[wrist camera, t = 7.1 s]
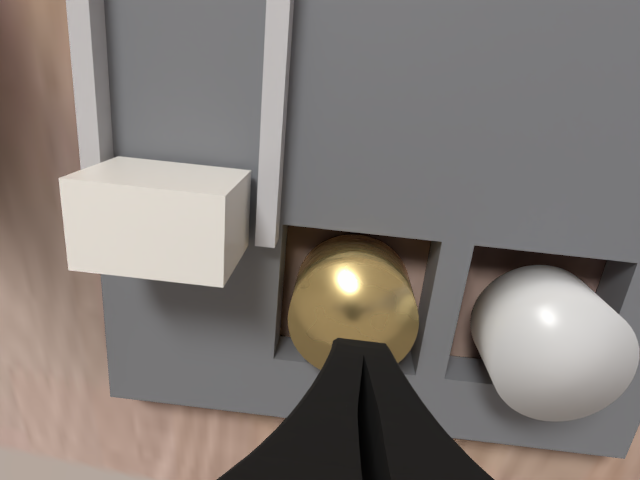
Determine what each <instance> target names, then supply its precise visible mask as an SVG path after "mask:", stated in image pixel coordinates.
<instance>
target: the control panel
mask: <svg viewBox="0 0 640 480" xmlns="http://www.w3.org/2000/svg"><path fill="white" fill-rule="evenodd" d="M66 8H67V19H68V31H69V42H70V53H71V64H72V76H73V87H74V98H75V110H76V121H77V132H78V143H79V155H80V166H81V170H82V169H85V168H87V167H90V166H93V165H96V164H98V163H101V162H104V161H107V160H109V159H112V158H115V157H118V156H122V157H131V158H140V159H150V160H159V161H169V162H178V163H188V164H197V165H206V166H216V167H225V168H235V169H244V170H251V190H250V214H249V238H248V247H247V249H246V250H245V252H244V254H243V255H242V257H241V259H240V260H239V262H238V264H237V265H236V267H235V269H234V271H233V272H232V274H231V276H230V277H229V279H228V281H227V282H226V284H225V286H224V287H223V288H221V287H212V286H203V285H194V284H186V283H177V282H168V281H159V280H150V279H142V278H133V277H124V276H115V275H106V274H101V284H102V296H103V309H104V321H105V334H106V347H107V359H108V372H109V384H110V397H118V398H126V399H134V400H143V401H151V402H159V403H167V404H176V405H184V406H192V407H201V408H209V409H217V410H225V411H234V412H242V413H250V414H259V415H267V416H275V417H283V418H287V417H288V415H289V414H290V413H291V412H292V411H293V409H294V408H295V407H296V406H297V405H298V403H299V402H300V400H301V399H302V398H303V396H304V395H305V394H306V392H307V391H308V389H309V388H310V387H311V385H312V384H313V382H314V381H315V379H316V377H317V376H318V374H319V372H320V371H321V370H320V369H318V368H316V367H314V366H313V365H312V364H310V363H309V362H308V361H307V360H306V359H305V358H303V356H302V355H301V354H300V353H299V352H298V350H297V349H296V347H295V346H294V344H293V341H292V339H291V337H285V336H280V324H281V310H282V296H283V283H284V269H285V255H286V241H287V227H288V225H292V226H301V227H311V228H320V229H329V230H338V231H347V232H356V233H366V234H375V235H384V236H393V237H402V238H411V239H421V240H430V241H431V245H430V251H429V256H428V261H427V266H426V272H425V277H424V282H423V287H422V293H421V298H420V303H419V309H418V314H419V328H418V333H417V337H416V340H415V342H414V344H413V346H412V348H411V351H409V352H408V354H407V355H406V356H405V357H404V358H403V359H402V360H401V361H400V362H399V363H398V365H399V366H400V368H401V370H402V371H403V373H404V375H405V376H406V378H407V379H408V381H409V383H410V384H411V386H412V387H413V388H414V390H415V391H416V393H417V394H418V396H419V397H420V399H421V400H422V402H423V403H424V404H425V406H426V407H427V408H428V410H429V411H430V412H431V414H432V415H433V416H434V418H435V419H436V420H437V421H438V423H439V424H440V425H441V426H442V428H443V429H444V430H445V431H446V432H447V434H448V435H449V436H450V437H451V438H457V439H466V440H474V441H482V442H490V443H499V444H507V445H515V446H524V447H532V448H540V449H548V450H557V451H565V452H573V453H582V454H590V455H598V456H606V457H615V458H623V459H625V457H626V455H627V452H628V450H629V448H630V445H631V443H632V440H633V438H634V436H635V433H636V431H637V428H638V426H639V424H640V0H66ZM474 245H476V246H485V247H494V248H503V249H512V250H521V251H530V252H540V253H549V254H558V255H567V256H576V257H585V258H595V259H604V260H607V262H606V265H605V268H604V271H603V274H602V277H601V280H600V283H599V285H598V288H597V291H596V294H597V295H598V296H599V297H600V298H601V299H602V300H604V301H605V302H606V303H607V304H608V305H609V306H610V307H611V308H612V309H613V310H615V311H616V312H617V313H618V314H619V315H620V316H621V317H622V318H623V319H624V320H626V322H627V323H628V324H629V325H630V326H631V328H632V330H633V331H634V333H635V335H636V338H637V341H638V345H639V363H638V367H637V370H636V373H635V375H634V377H633V380H632V381H631V383H630V384H629V386H628V387H627V389H626V390H625V391H624V392H623V393H622V395H620V396H619V397H618V398H617V399H616V400H615V401H614V402H612V403H611V404H610V405H608V406H607V407H605V408H603V409H602V410H600V411H598V412H596V413H594V414H592V415H589V416H586V417H583V418H579V419H575V420H570V421H558V422H552V421H542V420H537V419H533V418H530V417H527V416H525V415H522V414H520V413H518V412H517V411H515V410H513V409H512V408H511V407H510V406H508V405H507V404H506V403H505V402H504V401H503V400H502V398H501V397H500V395H499V394H498V392H497V390H496V388H495V386H494V384H493V382H492V380H491V378H490V375H489V373H488V371H487V369H486V367H485V364H484V362H483V360H482V359H475V358H466V357H457V356H450V352H451V347H452V343H453V338H454V334H455V329H456V325H457V321H458V316H459V312H460V307H461V303H462V298H463V294H464V289H465V285H466V281H467V276H468V272H469V267H470V263H471V258H472V254H473V250H474Z"/></svg>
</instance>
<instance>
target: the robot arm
mask: <svg viewBox="0 0 640 480" xmlns="http://www.w3.org/2000/svg"><path fill="white" fill-rule="evenodd" d="M217 480H494V479H493V478H492V477H491V476H490V475H488V474H487V473H486V472H485V471H484V470H483V469H482V468H481V467H480V466H478V465H477V464H476V463H475V462H474V461H473V460H472V459H471V458H470V457H469V456H468V455H467V454H466V453H465V452H464V451H463V450H462V449H461V447H460V446H459V445H458V444H457V443H456V442H455V441H454V440H453V439H452V438H451V437H450V436H449V435H448V434H447V432H446V431H445V430H444V429H443V428H442V426H441V425H440V424H439V423H438V421H437V420H436V419H435V418H434V416H433V415H432V414H431V412H430V411H429V410H428V408H427V407H426V406H425V404H424V403H423V402H422V400H421V399H420V397H419V396H418V394H417V393H416V391H415V390H414V388H413V387H412V386H411V384H410V383H409V381H408V379H407V378H406V376H405V375H404V373H403V371H402V370H401V368H400V366H399V365H398V363H397V361H396V360H395V358H394V356H393V354H392V352H391V350H390V349H389V347H388V346H387V344H386V343H379V342H370V341H362V340H353V339H345V338H337V339H335V340H334V341H333V343H332V347H331V350H330V353H329V355H328V357H327V359H326V361H325V363H324V365H323V367H322V369H321V371H320V372H319V374H318V376H317V377H316V379H315V381H314V382H313V384H312V385H311V387H310V388H309V389H308V391H307V392H306V394H305V395H304V396H303V398H302V399H301V400H300V402H299V403H298V405H297V406H296V407H295V408H294V409H293V411H292V412H291V413H290V414H289V415H288V417H287V418H286V419H285V420H284V421H283V422H282V423H281V424H280V425H279V427H278V428H277V429H276V430H275V431H274V432H273V433H272V434H271V435H270V436H269V437H267V438H266V439H265V440H264V441H263V442H262V443H261V444H260V445H259V446H258V447H257V448H256V449H255V450H254V451H252V452H251V453H250V454H249V455H248V456H247V457H245V458H244V459H243V460H241V461H240V462H239V463H238V464H236V465H235V466H234V467H232V468H231V469H230V470H229V471H227V472H226V473H225V474H223V475H222V476H221V477H219V478H218V479H217Z"/></svg>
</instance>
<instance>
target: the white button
mask: <svg viewBox="0 0 640 480" xmlns="http://www.w3.org/2000/svg"><path fill="white" fill-rule="evenodd" d="M470 328H471V334H472V337H473V340H474V342H475V345H476V347H477V349H478V351H479V353H480V356H481V358H482V360H483V362H484V364H485V367H486V369H487V371H488V373H489V375H490V378H491V380H492V382H493V384H494V386H495V388H496V390H497V392H498V394H499V395H500V397H501V398H502V400H503V401H504V402H505V403H506V404H507V405H508V406H510V407H511V408H512V409H513V410H515V411H517V412H518V413H520V414H522V415H525V416H527V417H530V418H533V419H537V420H542V421H552V422H558V421H570V420H575V419H579V418H583V417H586V416H589V415H592V414H594V413H596V412H598V411H600V410H602V409H603V408H605V407H607V406H608V405H610V404H611V403H612V402H614V401H615V400H616V399H617V398H618V397H619V396H620V395H622V393H623V392H624V391H625V390H626V389H627V387H628V386H629V384H630V383H631V381H632V380H633V377H634V375H635V373H636V370H637V367H638V363H639V345H638V341H637V338H636V335H635V333H634V331H633V330H632V328H631V326H630V325H629V324H628V323H627V322H626V320H624V319H623V318H622V317H621V316H620V315H619V314H618V313H617V312H616V311H615V310H613V309H612V308H611V307H610V306H609V305H608V304H607V303H606V302H605V301H604V300H602V299H601V298H600V297H599V296H598V295H597V294H596V293H595V292H594V291H593V290H591V289H590V288H589V287H588V286H587V285H586V284H585V283H584V282H583V281H582V280H580V279H579V278H578V277H577V276H575V275H574V274H572V273H571V272H569V271H567V270H564V269H562V268H558V267H555V266H549V265H530V266H524V267H520V268H517V269H514V270H511V271H509V272H507V273H505V274H503V275H501V276H499V277H498V278H497V279H495V280H494V281H492V282H491V283H490V284H489V285H488V286H487V287H486V288H485V289H484V290H483V292H482V293H481V294H480V296H479V297H478V299H477V300H476V303H475V305H474V307H473V310H472V313H471V320H470Z"/></svg>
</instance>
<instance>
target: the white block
mask: <svg viewBox="0 0 640 480" xmlns="http://www.w3.org/2000/svg"><path fill="white" fill-rule="evenodd" d="M59 187H60V196H61V205H62V215H63V224H64V234H65V243H66V252H67V262H68V270H71V271H80V272H89V273H97V274H106V275H115V276H124V277H133V278H142V279H150V280H159V281H168V282H177V283H186V284H194V285H203V286H212V287H221V288H223V287H224V286H225V284H226V282H227V281H228V279H229V277H230V276H231V274H232V272H233V271H234V269H235V267H236V265H237V264H238V262H239V260H240V259H241V257H242V255H243V254H244V252H245V250H246V249H247V247H248V238H249V214H250V190H251V170H244V169H235V168H225V167H216V166H206V165H197V164H188V163H178V162H169V161H159V160H150V159H140V158H131V157H122V156H118V157H115V158H112V159H109V160H107V161H104V162H101V163H98V164H96V165H93V166H90V167H87V168H85V169H82V170H79V171H76V172H74V173H71V174H68V175H66V176H63V177H60V178H59Z"/></svg>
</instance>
